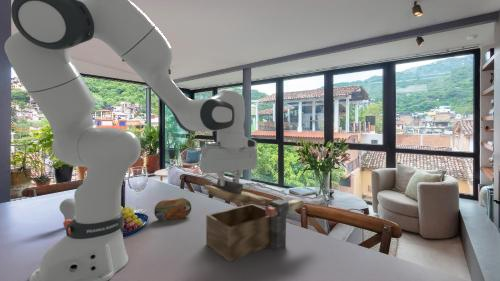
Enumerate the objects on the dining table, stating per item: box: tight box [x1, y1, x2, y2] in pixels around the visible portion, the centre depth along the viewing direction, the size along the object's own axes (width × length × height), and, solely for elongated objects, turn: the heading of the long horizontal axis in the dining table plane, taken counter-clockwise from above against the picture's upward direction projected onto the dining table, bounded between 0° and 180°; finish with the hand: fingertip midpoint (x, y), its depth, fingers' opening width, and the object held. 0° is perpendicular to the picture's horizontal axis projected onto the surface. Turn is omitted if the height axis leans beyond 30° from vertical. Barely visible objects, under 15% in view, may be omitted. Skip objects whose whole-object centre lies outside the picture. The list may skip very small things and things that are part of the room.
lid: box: [202, 177, 275, 207], centre depth 82 cm, size 20×18×5 cm
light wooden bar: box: [264, 198, 304, 217], centre depth 85 cm, size 15×3×2 cm, turn 129°
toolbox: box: [205, 199, 290, 263], centre depth 83 cm, size 20×18×15 cm
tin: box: [153, 197, 192, 222], centre depth 107 cm, size 15×3×8 cm, turn 114°
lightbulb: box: [58, 197, 75, 221], centre depth 98 cm, size 6×6×11 cm
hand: (229, 184), depth 81 cm, fingers closed on lid, 3 cm apart
